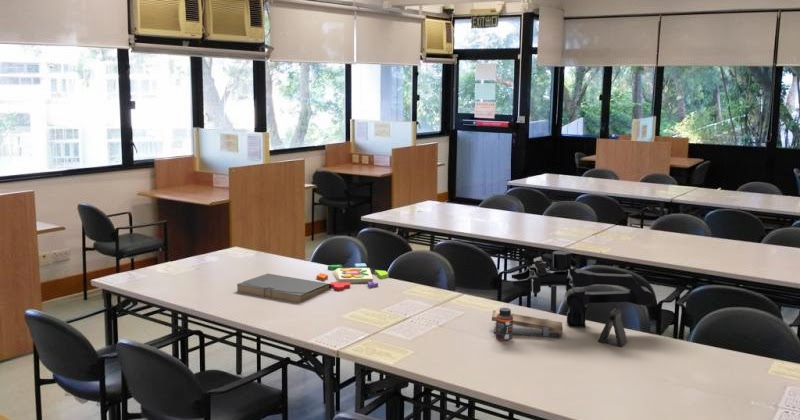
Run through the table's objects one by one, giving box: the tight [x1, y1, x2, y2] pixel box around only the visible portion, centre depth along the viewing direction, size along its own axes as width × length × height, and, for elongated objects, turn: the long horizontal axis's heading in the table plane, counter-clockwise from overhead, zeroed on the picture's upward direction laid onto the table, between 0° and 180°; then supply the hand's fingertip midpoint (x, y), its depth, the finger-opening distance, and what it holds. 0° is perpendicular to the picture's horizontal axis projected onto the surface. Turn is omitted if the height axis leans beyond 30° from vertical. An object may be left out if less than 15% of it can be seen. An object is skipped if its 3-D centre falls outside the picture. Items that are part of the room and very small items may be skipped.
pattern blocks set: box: [316, 262, 389, 292], centre depth 344 cm, size 38×34×3 cm
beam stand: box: [493, 318, 560, 340], centre depth 275 cm, size 24×11×4 cm, turn 80°
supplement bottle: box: [495, 307, 513, 342], centre depth 265 cm, size 6×6×11 cm
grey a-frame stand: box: [597, 308, 628, 348], centre depth 264 cm, size 9×6×12 cm, turn 55°
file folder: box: [236, 273, 332, 304], centre depth 321 cm, size 33×4×24 cm
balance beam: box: [491, 310, 564, 334], centre depth 274 cm, size 26×8×2 cm, turn 80°
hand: (512, 279), depth 283 cm, fingers open, 9 cm apart
